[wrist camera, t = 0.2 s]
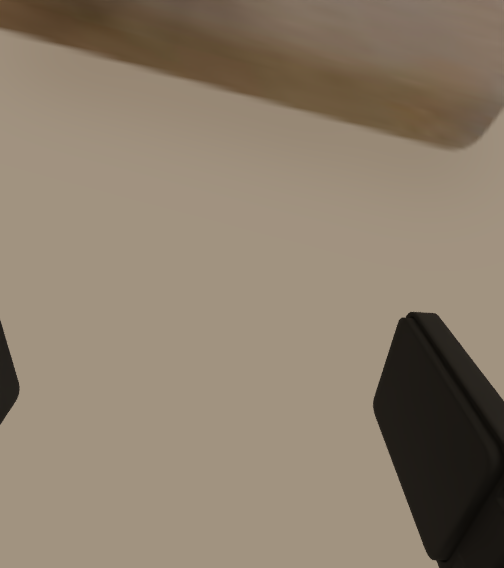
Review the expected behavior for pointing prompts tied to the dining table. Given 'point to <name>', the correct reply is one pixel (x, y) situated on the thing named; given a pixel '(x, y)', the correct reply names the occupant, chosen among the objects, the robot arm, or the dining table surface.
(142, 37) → the dining table surface
